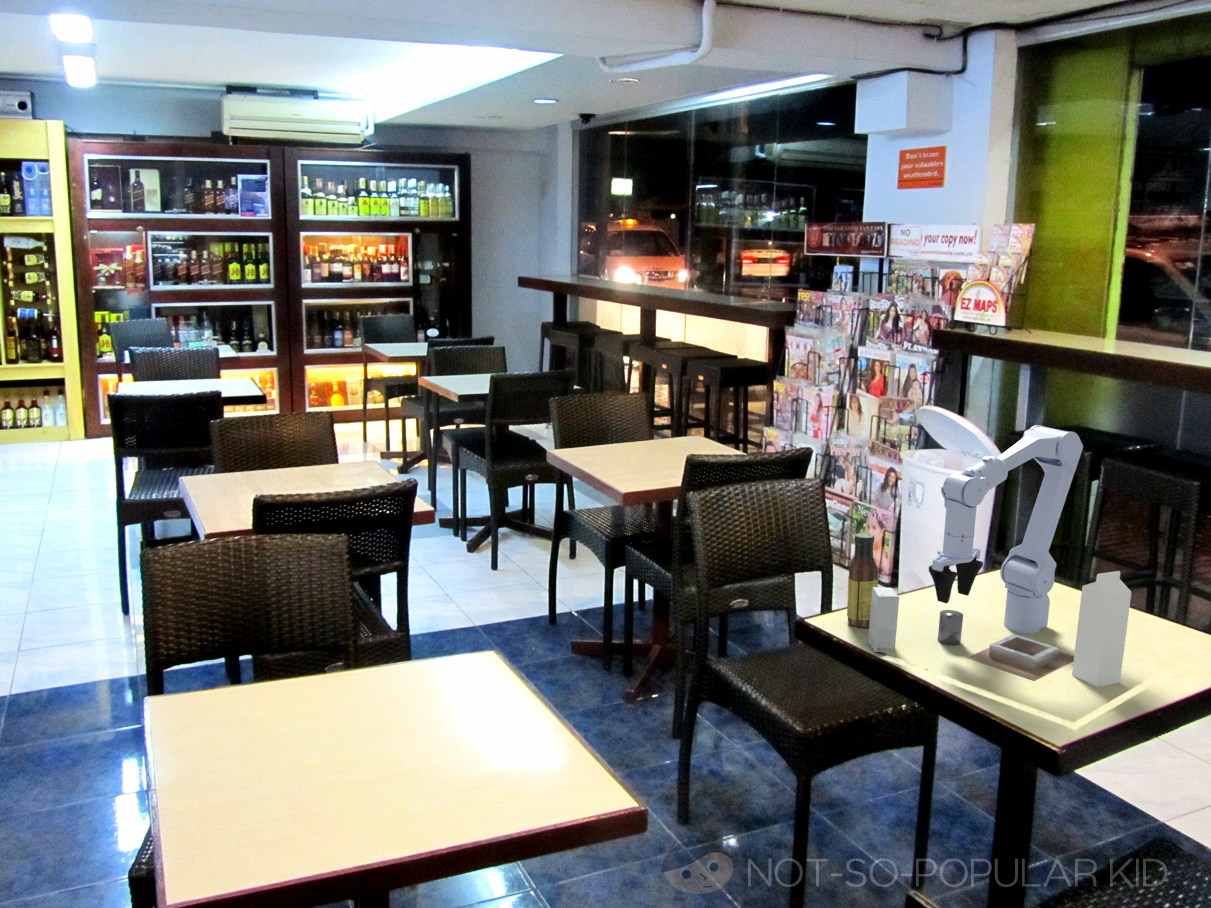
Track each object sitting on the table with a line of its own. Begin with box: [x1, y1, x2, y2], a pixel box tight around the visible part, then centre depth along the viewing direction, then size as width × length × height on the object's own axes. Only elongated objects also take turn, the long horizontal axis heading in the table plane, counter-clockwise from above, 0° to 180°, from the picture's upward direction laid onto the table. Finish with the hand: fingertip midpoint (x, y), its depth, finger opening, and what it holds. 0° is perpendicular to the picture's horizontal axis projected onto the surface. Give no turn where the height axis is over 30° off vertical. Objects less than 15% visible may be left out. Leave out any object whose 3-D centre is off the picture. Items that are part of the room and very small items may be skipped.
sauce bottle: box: [846, 532, 879, 629], centre depth 227 cm, size 7×6×20 cm
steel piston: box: [937, 609, 964, 646], centre depth 216 cm, size 4×4×7 cm
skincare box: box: [867, 586, 900, 653], centre depth 214 cm, size 6×4×12 cm
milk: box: [1071, 570, 1132, 688], centre depth 198 cm, size 6×6×22 cm
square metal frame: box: [989, 633, 1060, 671], centre depth 209 cm, size 9×9×2 cm
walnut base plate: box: [966, 647, 1074, 682], centre depth 209 cm, size 18×14×1 cm
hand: (953, 597), depth 215 cm, fingers open, 7 cm apart
